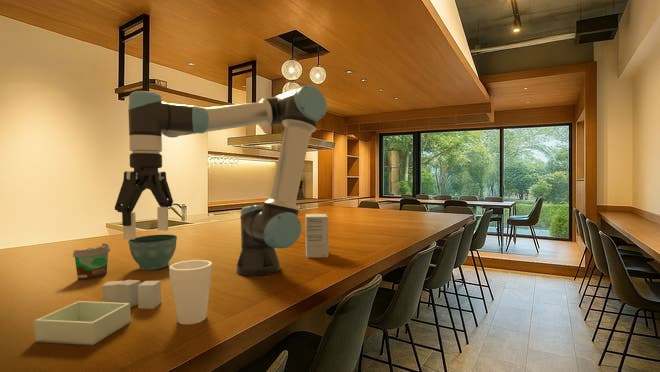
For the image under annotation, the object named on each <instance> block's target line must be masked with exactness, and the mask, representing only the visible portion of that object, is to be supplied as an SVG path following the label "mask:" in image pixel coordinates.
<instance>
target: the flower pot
mask: <svg viewBox="0 0 660 372" xmlns="http://www.w3.org/2000/svg"><path fill="white" fill-rule="evenodd" d="M127 240H128V241H127V243H128V246H129V251H130V254H131V256H132V258H133V260H134V261H135V263H136V264H137V265H138V266H139V269H140V270H143V271H152V270H153V271H154V270H155V271H156V270H160V269H163V268H166V267H169V263H170V261H171V259H172V258H173V256H174V254H175V252H176V249H177V240H178V235H176V234H150V235H142V236H138V237H137V236H136V239H127Z"/></svg>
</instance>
